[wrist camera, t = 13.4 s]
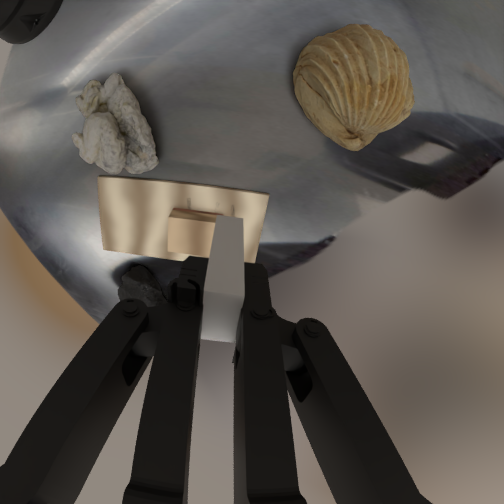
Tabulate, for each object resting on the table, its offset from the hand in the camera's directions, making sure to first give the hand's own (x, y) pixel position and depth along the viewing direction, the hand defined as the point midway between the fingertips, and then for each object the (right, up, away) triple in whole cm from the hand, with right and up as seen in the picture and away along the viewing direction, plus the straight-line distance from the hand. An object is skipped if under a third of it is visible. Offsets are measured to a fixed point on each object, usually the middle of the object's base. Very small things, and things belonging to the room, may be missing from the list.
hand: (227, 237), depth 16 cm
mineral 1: (-18, +19, +19) cm, 32 cm away
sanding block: (-8, +3, +28) cm, 29 cm away
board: (-11, +4, +28) cm, 31 cm away
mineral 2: (-20, -8, +35) cm, 41 cm away
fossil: (+14, +23, +17) cm, 32 cm away
